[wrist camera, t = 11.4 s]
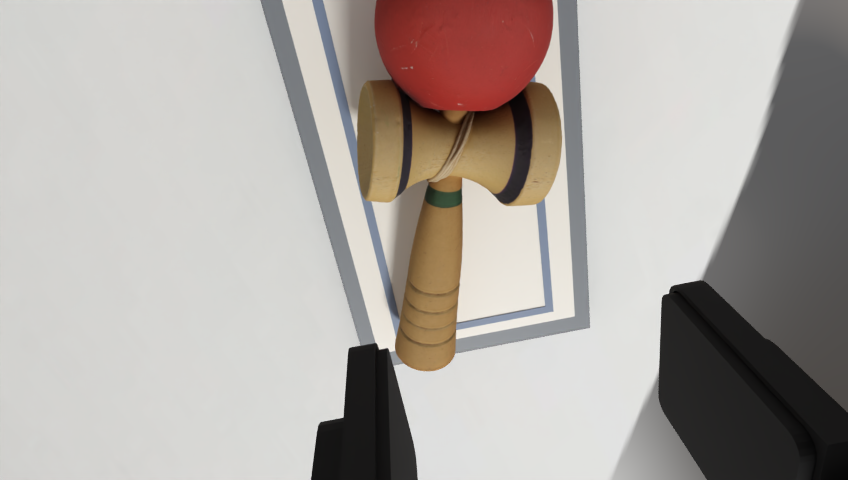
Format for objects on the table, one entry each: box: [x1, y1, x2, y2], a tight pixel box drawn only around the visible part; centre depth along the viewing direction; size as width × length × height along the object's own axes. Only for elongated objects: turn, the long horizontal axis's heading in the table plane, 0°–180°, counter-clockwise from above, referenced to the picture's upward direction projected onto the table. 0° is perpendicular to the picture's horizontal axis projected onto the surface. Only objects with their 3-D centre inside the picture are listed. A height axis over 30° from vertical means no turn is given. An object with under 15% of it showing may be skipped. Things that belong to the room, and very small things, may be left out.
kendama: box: [357, 0, 562, 371], centre depth 22 cm, size 8×6×18 cm
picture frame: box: [261, 0, 590, 365], centre depth 24 cm, size 22×12×1 cm, turn 10°
